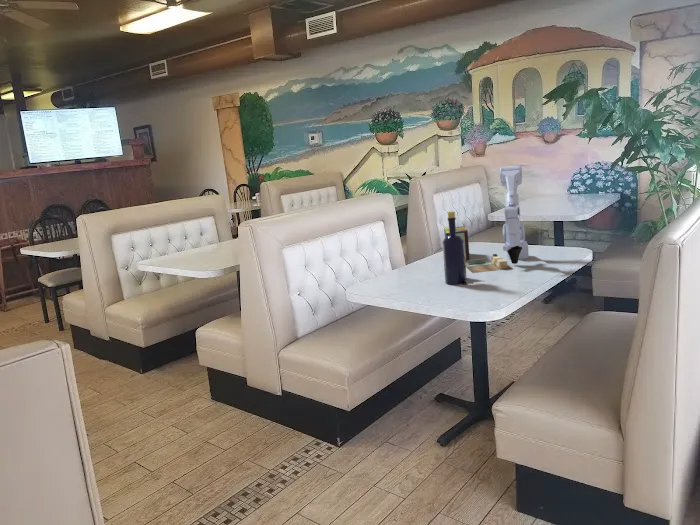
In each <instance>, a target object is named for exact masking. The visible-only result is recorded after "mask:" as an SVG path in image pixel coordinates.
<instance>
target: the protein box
mask: <svg viewBox="0 0 700 525" xmlns="http://www.w3.org/2000/svg"><path fill="white" fill-rule="evenodd" d="M443 232H444V238H445V237H447V236H450V233H449V227H444V229H443ZM456 235H459V236H461V238H462V239H463V240H464V248H465V261H468V260H471V259H470V243H469V231H468V229H467V228H466V226H464V225H462V226H461V225H460V226H456Z"/></svg>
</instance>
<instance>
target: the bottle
mask: <svg viewBox="0 0 700 525" xmlns="http://www.w3.org/2000/svg"><path fill="white" fill-rule="evenodd" d="M456 218H457V217H456V212H455V210H454V211H453V210H452V211H448V212H447V221H448V228H449V233H450V236H447V237H445V236H444V239H443V241H442V251H443V253H442V254H443V267H444V269H443V270H444V279H445V280H444V281H445V284H447V285H448V286H449V285H450V286H459V285H465V284H466V283H467V281H466V280H467V278H468V277H467V268H466V264H467V263H466V262H467V261H466V260H465V248H464V240H463V239H462V238H461V236H459V235H456V227H457V226H456V220H457V219H456Z"/></svg>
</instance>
